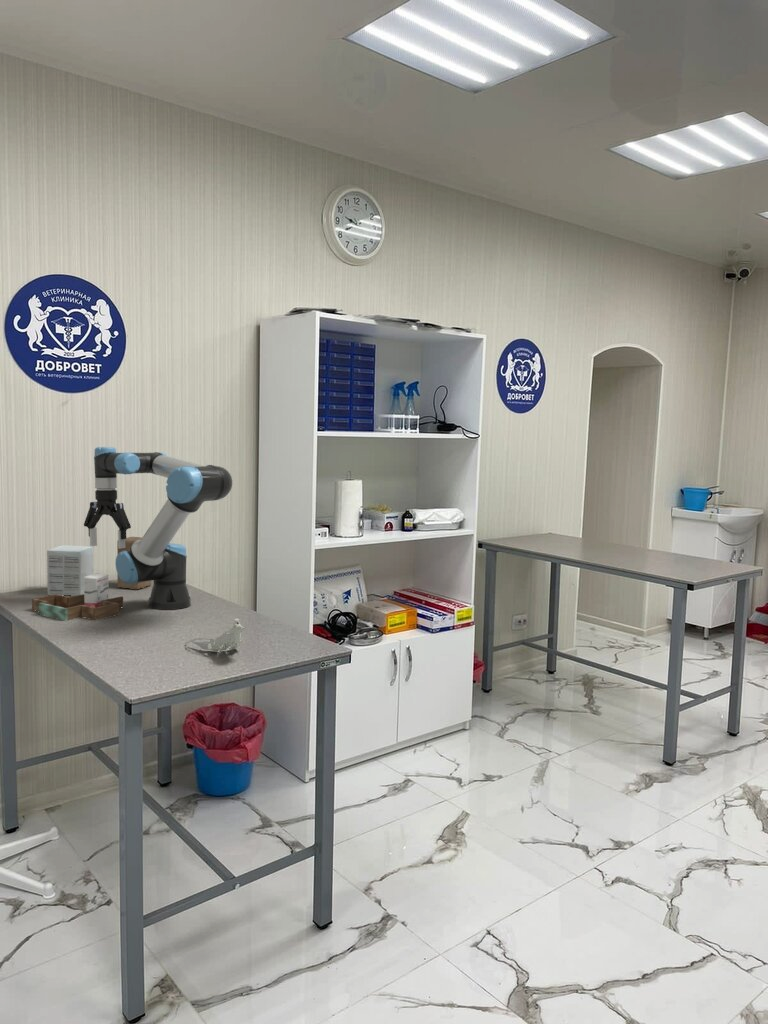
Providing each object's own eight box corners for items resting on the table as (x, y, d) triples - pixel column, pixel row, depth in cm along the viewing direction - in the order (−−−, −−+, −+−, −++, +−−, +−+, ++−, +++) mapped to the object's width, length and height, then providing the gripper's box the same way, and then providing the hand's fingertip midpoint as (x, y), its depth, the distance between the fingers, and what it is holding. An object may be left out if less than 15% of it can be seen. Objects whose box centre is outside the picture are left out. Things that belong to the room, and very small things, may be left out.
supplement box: (61, 588, 313) (60, 544, 311) (94, 589, 313) (93, 546, 311) (46, 595, 300) (46, 550, 298) (81, 596, 300) (80, 551, 298)
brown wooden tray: (136, 610, 281) (136, 599, 280) (79, 624, 260) (79, 612, 259) (84, 599, 295) (84, 589, 294) (25, 611, 274) (25, 600, 273)
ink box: (95, 611, 278) (95, 578, 277) (83, 610, 279) (83, 577, 278) (109, 605, 286) (109, 573, 285) (97, 604, 287) (96, 573, 286)
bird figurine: (232, 638, 249) (259, 597, 232) (240, 665, 245) (268, 625, 228) (183, 644, 240) (207, 601, 223) (190, 671, 236) (215, 630, 219)
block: (116, 588, 316) (116, 539, 314) (131, 583, 326) (131, 536, 324) (138, 590, 313) (138, 541, 311) (152, 586, 323) (152, 537, 321)
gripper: (140, 489, 285) (141, 547, 287) (88, 487, 295) (89, 543, 297) (125, 490, 278) (126, 550, 280) (72, 488, 288) (74, 546, 290)
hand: (107, 547), depth 289 cm, fingers open, 13 cm apart
